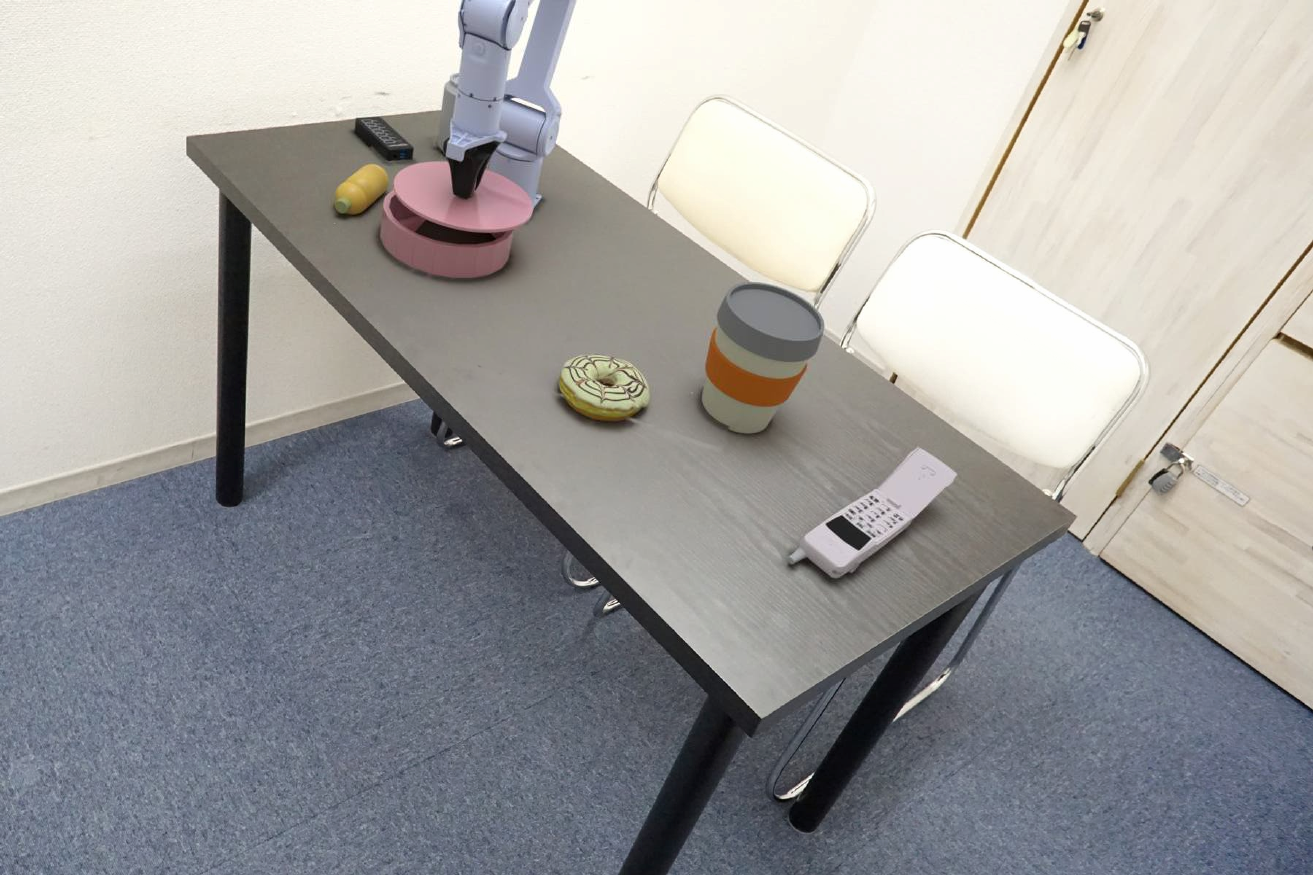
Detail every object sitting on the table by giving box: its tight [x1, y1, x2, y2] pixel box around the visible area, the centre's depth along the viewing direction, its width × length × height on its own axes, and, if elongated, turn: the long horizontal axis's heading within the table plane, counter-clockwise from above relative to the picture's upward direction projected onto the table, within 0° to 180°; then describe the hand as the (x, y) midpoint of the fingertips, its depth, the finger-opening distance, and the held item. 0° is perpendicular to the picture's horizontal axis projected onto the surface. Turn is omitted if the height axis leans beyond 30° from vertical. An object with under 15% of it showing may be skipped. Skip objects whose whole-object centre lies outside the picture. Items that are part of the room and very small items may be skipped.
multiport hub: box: [354, 116, 415, 162], centre depth 148 cm, size 4×11×2 cm, turn 41°
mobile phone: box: [787, 446, 958, 579], centre depth 106 cm, size 6×6×25 cm
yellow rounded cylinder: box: [334, 163, 390, 216], centre depth 132 cm, size 12×4×4 cm, turn 170°
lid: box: [393, 160, 534, 234], centre depth 125 cm, size 18×18×5 cm
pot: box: [379, 189, 515, 279], centre depth 129 cm, size 17×17×5 cm
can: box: [436, 72, 459, 154], centre depth 151 cm, size 8×8×12 cm
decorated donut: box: [558, 353, 651, 422], centre depth 112 cm, size 10×11×4 cm
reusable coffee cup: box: [701, 281, 826, 434], centre depth 115 cm, size 13×12×15 cm
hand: (465, 191), depth 125 cm, fingers closed on lid, 2 cm apart
